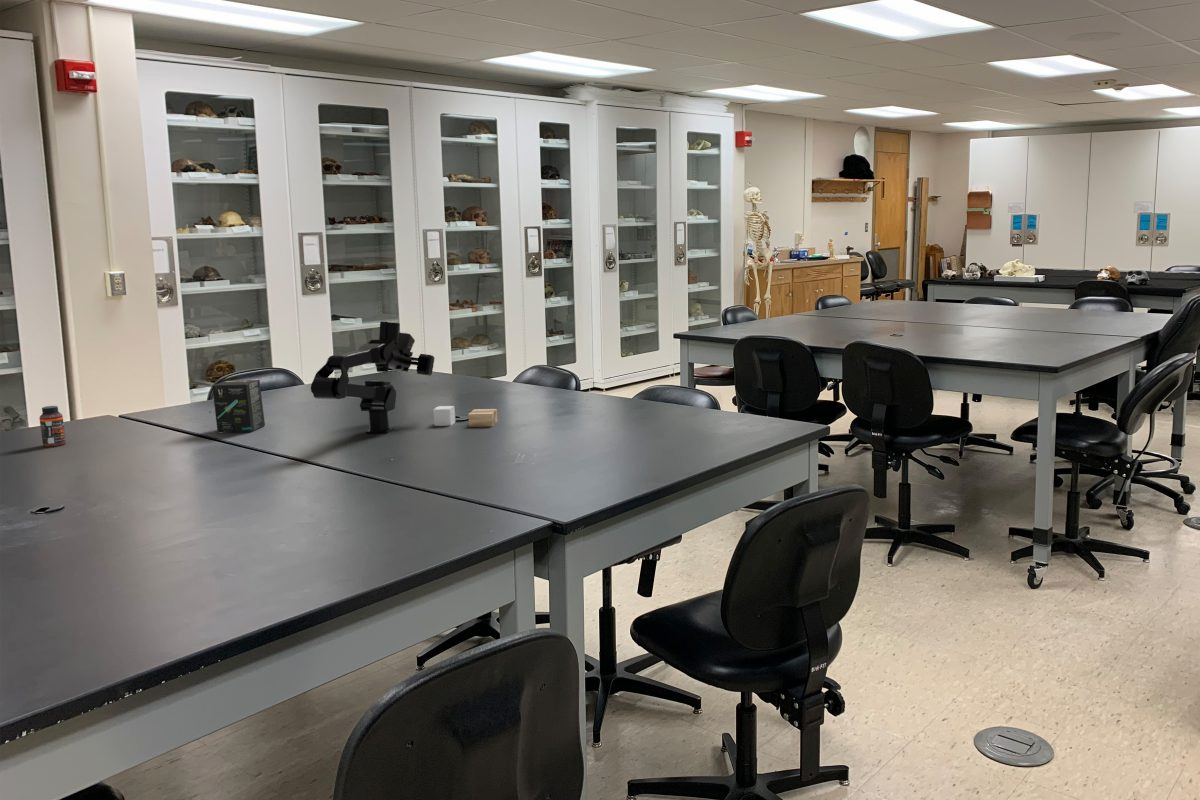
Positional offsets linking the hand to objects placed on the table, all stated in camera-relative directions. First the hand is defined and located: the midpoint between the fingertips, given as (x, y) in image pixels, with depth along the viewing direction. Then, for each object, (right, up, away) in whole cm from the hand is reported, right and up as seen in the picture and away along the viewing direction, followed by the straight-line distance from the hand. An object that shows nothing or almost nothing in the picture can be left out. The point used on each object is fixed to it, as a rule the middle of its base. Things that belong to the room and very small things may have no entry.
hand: (418, 366), depth 303 cm
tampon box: (-51, -20, -10) cm, 56 cm away
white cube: (+11, -18, -14) cm, 25 cm away
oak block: (+22, -18, -16) cm, 33 cm away
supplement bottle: (-101, -24, -22) cm, 106 cm away
